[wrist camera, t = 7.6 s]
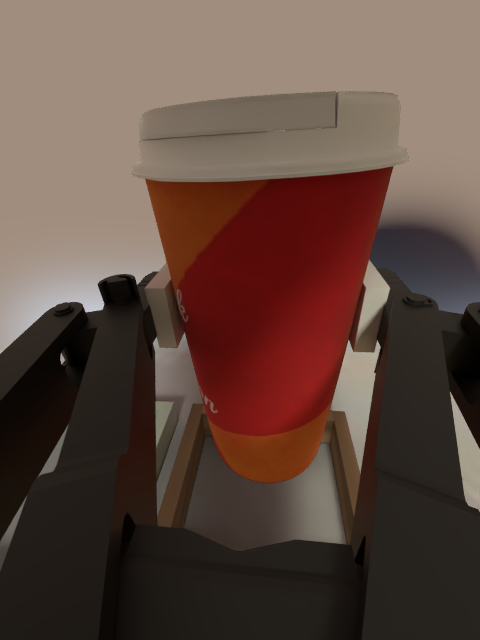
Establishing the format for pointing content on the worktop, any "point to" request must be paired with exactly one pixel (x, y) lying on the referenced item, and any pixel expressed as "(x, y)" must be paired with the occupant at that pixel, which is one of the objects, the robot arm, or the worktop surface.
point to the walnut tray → (198, 427)
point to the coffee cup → (269, 254)
